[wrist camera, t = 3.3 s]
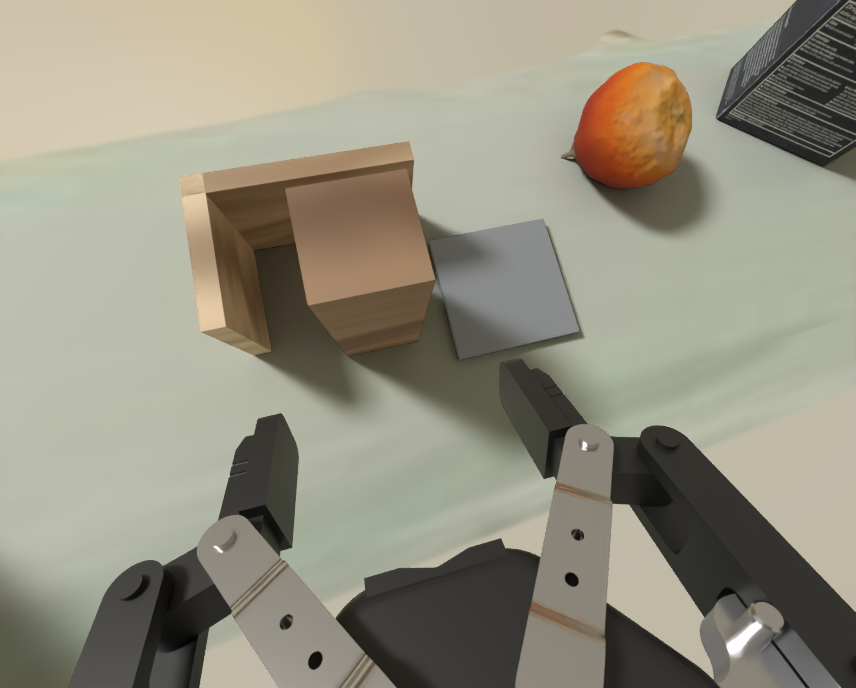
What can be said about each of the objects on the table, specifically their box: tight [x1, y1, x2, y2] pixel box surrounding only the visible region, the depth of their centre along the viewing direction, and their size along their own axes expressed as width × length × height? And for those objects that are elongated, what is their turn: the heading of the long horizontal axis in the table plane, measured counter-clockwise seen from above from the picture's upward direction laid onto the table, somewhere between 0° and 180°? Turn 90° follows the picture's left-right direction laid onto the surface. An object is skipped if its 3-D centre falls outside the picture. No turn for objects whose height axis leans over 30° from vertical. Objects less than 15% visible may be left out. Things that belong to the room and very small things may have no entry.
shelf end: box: [179, 141, 414, 355], centre depth 23 cm, size 9×13×7 cm
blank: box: [285, 169, 435, 357], centre depth 21 cm, size 5×5×12 cm
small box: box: [716, 0, 856, 166], centre depth 28 cm, size 11×6×10 cm, turn 66°
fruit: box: [561, 62, 692, 189], centre depth 28 cm, size 8×8×8 cm
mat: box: [429, 219, 579, 360], centre depth 28 cm, size 9×9×1 cm
